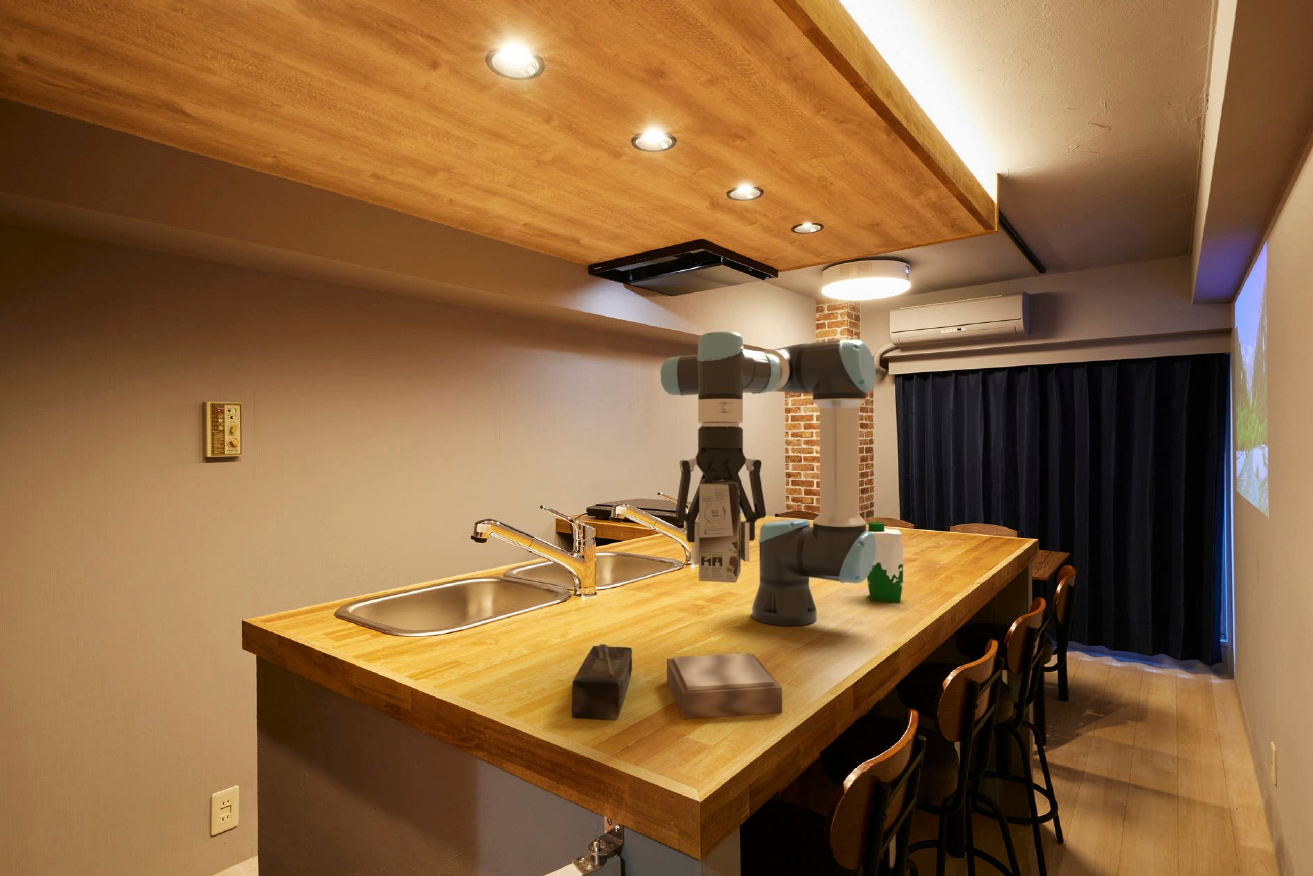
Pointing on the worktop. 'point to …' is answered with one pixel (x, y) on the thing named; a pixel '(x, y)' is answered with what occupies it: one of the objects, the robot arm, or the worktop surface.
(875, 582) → the milk carton
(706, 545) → the coffee box
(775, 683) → the shelf riser
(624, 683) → the beverage carton
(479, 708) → the worktop surface
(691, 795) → the worktop surface
